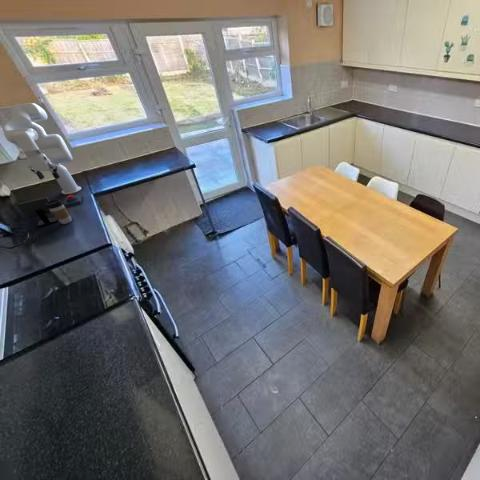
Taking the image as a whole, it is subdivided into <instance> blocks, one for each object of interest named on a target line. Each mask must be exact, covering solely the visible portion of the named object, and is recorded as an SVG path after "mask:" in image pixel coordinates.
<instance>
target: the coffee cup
mask: <svg viewBox="0 0 480 480" xmlns="http://www.w3.org/2000/svg"><path fill="white" fill-rule="evenodd" d="M46 207H47V208H48V209H49V210H50V212H51V213H50V214H52V215H53V217H56V218H57V219H58V222H59V223H60V224H61V225H66V224H69V223H71V222H72V221H73V219H72V217H71V216H70V214H69V211H68V209H67V207H66V206H65V205H64V202H63V201H62V200H61V199H52V200H49V202H47V203H46Z"/></svg>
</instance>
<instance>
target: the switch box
mask: <svg viewBox="0 0 480 480" xmlns="http://www.w3.org/2000/svg"><path fill="white" fill-rule="evenodd" d="M73 196H74V198H72V199H68V198H67V197H65V199H64V202H63V205H64V206H65V208H69V207H72V206H76V205H80V204H82V196H81V195H76V194H75V195H73Z"/></svg>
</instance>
